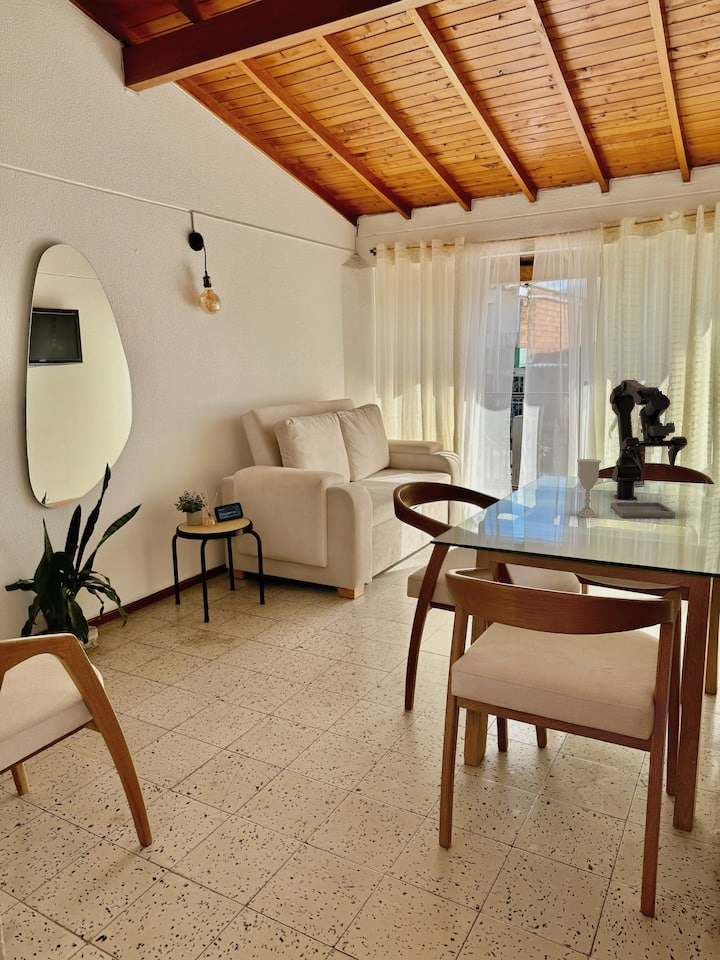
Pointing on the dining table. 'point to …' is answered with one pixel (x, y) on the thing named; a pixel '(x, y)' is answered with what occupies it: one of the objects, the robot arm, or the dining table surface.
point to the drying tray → (642, 510)
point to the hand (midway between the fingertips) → (657, 469)
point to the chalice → (588, 480)
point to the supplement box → (642, 470)
